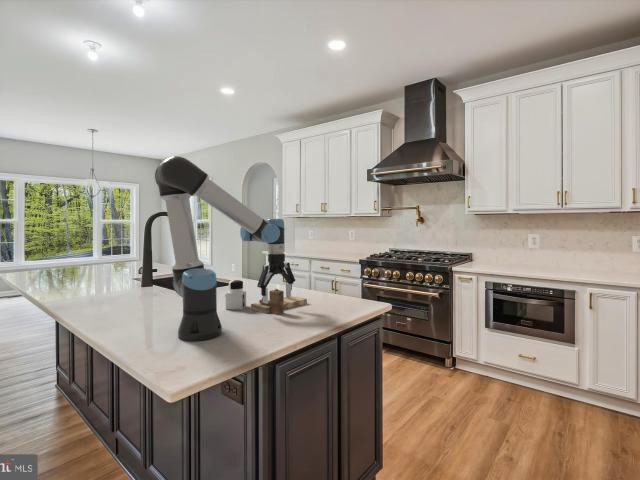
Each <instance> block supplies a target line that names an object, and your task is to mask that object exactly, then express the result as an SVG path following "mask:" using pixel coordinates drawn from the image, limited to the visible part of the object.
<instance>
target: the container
mask: <svg viewBox="0 0 640 480" xmlns="http://www.w3.org/2000/svg"><path fill="white" fill-rule="evenodd" d="M246 307H247V290H244V282H243V281H242V280H241V279H234V280H233V279H232V280H230V281H229V282H228V291H227V292H226V293H225V310H232V311H233V310H235V311H237V310H239V311H240V310H241V311H242V310H243V309H244V308H246Z"/></svg>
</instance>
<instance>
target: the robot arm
mask: <svg viewBox="0 0 640 480" xmlns="http://www.w3.org/2000/svg"><path fill="white" fill-rule="evenodd" d="M154 180H155V182H156V184H157V186H158V192H159V197H160V199H162V200H163V201H164V202H165V207H166V213H167V219H168V225H169V231H170V238H171V243H172V250H173V255H174V261H175V262H174V265H173V266H172V268H171V270H172V275H173V279H172V286H173V289H174V292H175V293H176V294H177V295H178V296H179V297H181V298H182V317H181V321H180V323H179V326H178V330H177V332H178V333H177V337H178V338H179V339H180V340H182V341H187V342H188V341H190V342H198V341H207V340H212V339H215V338H218V337H219V336H220V335H222V334H223V327H222V323H221V320H220V318H219V315H218V311H217V309H218V305H217V304H218V303H217V301H218V300H217V297H218V295H217V282H218V280H217V274H216V273H215V271H214V270H213V269H209V268H205V266H204V265H205V264H204V262H203V261H202V260H200V259H199V254H198V247H197V246H198V245H197V240H196V239H197V238H196V234H195V227H194V221H193V216H192V215H193V214H192V209H191V203H190V198H191V197H198V198H199V199H200V200H202V201H203V202H204V203H206V204H208V205H209V206H211V207H212V208H213V209H215V210H216V211H218V212H219V213H220V214H222V215H223V216H225V217H226V218H228V219H229V220H230V221H233V223H235V224H237V225H239V226H240V230H239V231H240V232H239V234H240V239H241V241H243V242H259V243H265V244H267V253H268V254H267V261H268V265H266V264H265V265H264V264H263V265H262V272H261V274H260V277H259V279H258V282H257V284H256V286H257V288H259V289H260V293H261V294H260V295H261V297H263V303H266V304H267V303H268V300H269V292H268V291H269V290H268V288H267V287H268V285H269V284H270V282H271V280H272V278H273V277H274V276H275V275H280V276H281V277H282V278H283V279H284V280H285V281H286V283H285V297H287V298H291V296H292V290H293V284H294V282H296V278H295V276H294V274H293V270H292V268H291V264H290V262H285V261H286V254H285V250H286V247H285V221H284V219H283V218H268V219H267V220H265V219H264V218H263V217H262V216H260V215H259V214H257V213H256V212H254V211H253V210H252V209H250V208H249V207H248V206H247V205H245V204H244V203H242V202H241V201H239V200H238V199H237V198H235V196H232V195H231V194H230V193H229V192H228V191H226V190H224V189H223V188H222V187H220V185H218V184H217V183H215V182H214V181H212V180H211V179H210V176H209V174H208V173H206V171H204V170H203V169H201V168H200V167H199V166H198V165H196V164H195V163H193V162H192V161H191V160H189V159H187V158H185V157H182V156H171V157H170V156H169V158H166V159H165V160H164V161H163V162H161V163H160V164H158V166H157V167H156V169H155V173H154Z"/></svg>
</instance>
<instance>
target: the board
mask: <svg viewBox="0 0 640 480" xmlns="http://www.w3.org/2000/svg"><path fill="white" fill-rule="evenodd" d="M268 300H269V301H270V299H268ZM307 304H308V299H307V298H305V297H304V298H303V297H299V296H295V295H291V298H287V297H286V296H285V297H284V310H286V309H290V308H294V307H298V306H303V305H307ZM250 310H252V311H256V312H260V313H263V314H268V313H269V314H270V306H268V305H264V304H260V303H259V302H254V303H251V304H250Z"/></svg>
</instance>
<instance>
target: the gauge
mask: <svg viewBox="0 0 640 480" xmlns="http://www.w3.org/2000/svg"><path fill="white" fill-rule="evenodd" d="M284 294H285V293H284V290H279V288H275V289H272V290H269V299H268V303H267V304H266V303H263V296H261V299H259V302H258V303H260V304H264V305H268V306H270V312H269V314H272V315H281V314H284V312H285V311H284V310H285V309H284ZM269 300H270V301H269Z"/></svg>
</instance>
